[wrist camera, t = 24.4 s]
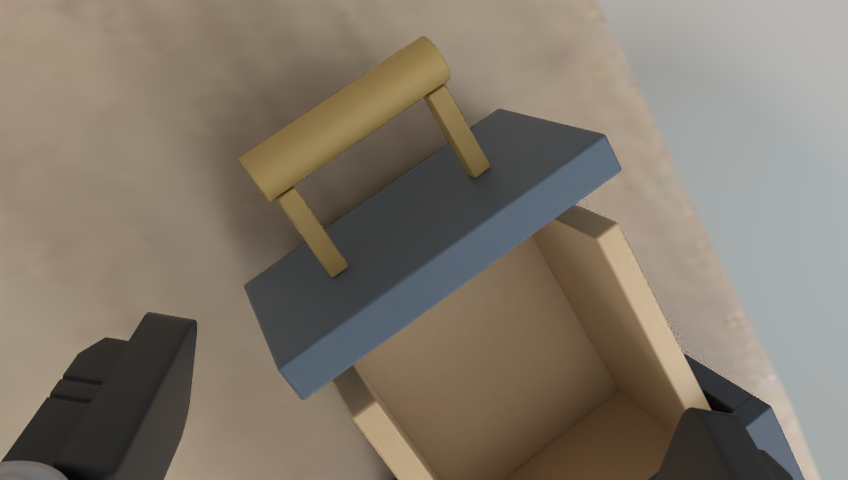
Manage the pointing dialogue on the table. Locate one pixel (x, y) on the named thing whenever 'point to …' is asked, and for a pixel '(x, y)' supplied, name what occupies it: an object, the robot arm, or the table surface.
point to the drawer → (471, 295)
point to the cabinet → (746, 415)
